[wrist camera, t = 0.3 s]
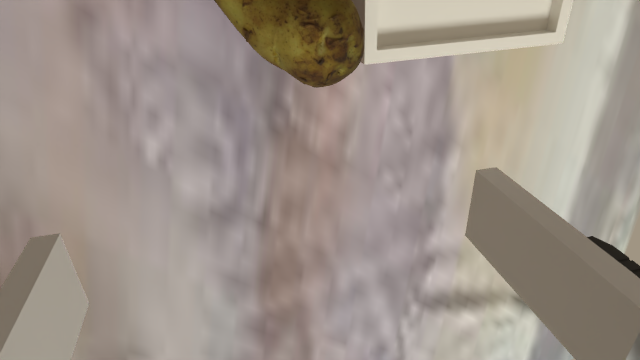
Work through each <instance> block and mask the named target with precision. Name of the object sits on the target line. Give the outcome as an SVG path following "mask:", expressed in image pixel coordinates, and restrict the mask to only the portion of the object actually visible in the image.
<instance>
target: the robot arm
mask: <svg viewBox="0 0 640 360" xmlns="http://www.w3.org/2000/svg"><path fill="white" fill-rule="evenodd" d="M465 236H466V237H467V238H468V239H469V240H470V241H471V242H472V243H473V245H474V246H475V247H476V248H477V249H478V250H479V251H480V252H481V254H482V255H483V256H484V257H485V258H486V259H487V260H488V261H489V263H490V264H491V265H492V266H493V267H494V268H495V269H496V270H497V272H498V273H499V274H500V275H501V276H502V277H503V278H504V279H505V281H506V282H507V283H508V284H509V285H510V286H511V287H512V288H513V290H514V291H515V292H516V293H517V294H518V295H519V296H520V297H521V299H522V300H523V301H524V302H525V303H526V304H527V305H528V306H529V308H530V309H531V310H532V311H533V312H534V313H535V314H536V315H537V317H538V318H539V319H540V320H541V321H542V322H543V323H544V324H545V326H546V327H547V328H548V329H549V330H550V331H551V332H552V333H553V335H554V336H555V337H556V338H557V339H558V340H559V341H560V343H561V344H562V345H563V346H564V347H565V348H566V349H567V350H568V352H569V353H570V354H571V355H572V356H573V357H574V358H575V359H576V360H640V266H639V265H638V264H636V263H635V262H634V261H630V260H629V258H628V257H627V256H626V255H625V254H623V253H622V252H621V251H619V250H618V249H616V248H615V247H614V246H612V245H610V244H608V243H606V242H604V241H602V240H599V239H597V238H595V237H593V236H591V237H586V236H584V235H583V234H582V233H581V232H579V231H578V230H577V229H575V228H574V227H573V226H571V225H570V224H569V223H568V222H566V221H565V220H564V219H562V218H561V217H560V216H559V215H557V214H556V213H555V212H553V211H552V210H551V209H549V208H548V207H547V206H546V205H544V204H543V203H542V202H540V201H539V200H538V199H537V198H535V197H534V196H533V195H531V194H530V193H529V192H528V191H526V190H525V189H524V188H522V187H521V186H520V185H518V184H517V183H516V182H515V181H513V180H512V179H511V178H509V177H508V176H507V175H506V174H504V173H503V172H502V171H500V170H499V169H498V168H496V167H495V168H489V169H482V170H476V174H475V180H474V186H473V192H472V198H471V204H470V210H469V216H468V222H467V228H466V234H465ZM88 305H89V302H88V299H87V297H86V295H85V292H84V290H83V287H82V285H81V283H80V280H79V278H78V275H77V273H76V271H75V268H74V266H73V263H72V261H71V258H70V256H69V254H68V251H67V249H66V246H65V244H64V242H63V239H62V237H61V234H60V233H59V234H53V235H46V236H40V237H33V238H30V240H29V241H28V243H27V245H26V247H25V248H24V250H23V252H22V253H21V255H20V257H19V258H18V260H17V262H16V263H15V265H14V267H13V268H12V270H11V272H10V274H9V275H8V277H7V279H6V280H5V282H4V284H3V285H2V287H1V289H0V360H71V358H72V355H73V352H74V349H75V346H76V343H77V340H78V336H79V333H80V330H81V327H82V324H83V321H84V318H85V315H86V312H87V309H88Z"/></svg>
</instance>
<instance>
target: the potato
mask: <svg viewBox="0 0 640 360" xmlns="http://www.w3.org/2000/svg"><path fill="white" fill-rule="evenodd" d="M214 1H215V2H216V3H217V4H218V6H219V7H220V8H221V10H222V11H223V12H224V14H225V15H226V16H227V17H228V19H229V20H230V21H231V23H232V24H233V25H234V26H235V27H236V29H237V30H238V31H239V32H240V33H241V35H242V36H243V37H244V38H245V39H246V41H247V42H248V43H249V44H250V45H251V46H252V48H253V49H254V50H255V51H256V52H257V53H259V54H260V55H261V56H262V57H263V58H264V59H266V60H267V61H268V62H270V63H272V64H273V65H275V66H277V67H279V68H281V69H283V70H285V71H286V72H288V73H289V74H290V75H292V76H293V77H295V78H296V79H297V80H299V81H301V82H302V83H303V84H307V85H310V86H312V87H324V86H329V85H333V84H335V83H337V82H339V81H341V80H342V79H344V78H345V77H347V76H348V75H349V74H351V73H352V72H353V71H354V70H355V69H356V68H357V66H358V65H359V63H360V61H361V59H362V57H363V54H364V29H363V26H362V23H361V20H360V17H359V14H358V11H357V9H356V7H355V5H354V3H353V2H352V0H214Z"/></svg>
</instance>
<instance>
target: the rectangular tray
mask: <svg viewBox="0 0 640 360" xmlns="http://www.w3.org/2000/svg"><path fill="white" fill-rule="evenodd" d="M352 2H353V3H354V5H355V7H356V9H357V11H358V14H359V17H360V20H361V23H362V26H363V29H364V54H363V57H362V59H361V62H362V63H363V64H364V65H366V64H375V63H384V62H394V61H403V60H412V59H421V58H431V57H440V56H449V55H459V54H468V53H477V52H487V51H496V50H505V49H515V48H524V47H533V46H543V45H552V44H561V43H563V42H564V37H565V33H566V29H567V25H568V21H569V17H570V13H571V8H572V4H573V0H352Z"/></svg>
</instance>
